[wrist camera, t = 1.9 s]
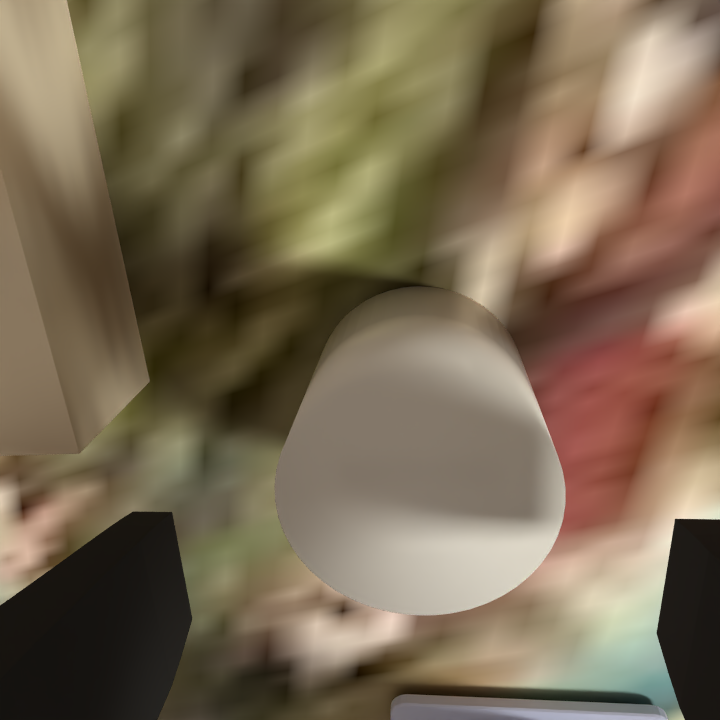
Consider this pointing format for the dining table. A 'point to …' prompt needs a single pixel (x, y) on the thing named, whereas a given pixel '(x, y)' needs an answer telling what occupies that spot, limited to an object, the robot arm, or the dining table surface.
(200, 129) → the dining table surface
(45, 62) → the block
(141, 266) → the dining table surface
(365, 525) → the beige round cylinder
